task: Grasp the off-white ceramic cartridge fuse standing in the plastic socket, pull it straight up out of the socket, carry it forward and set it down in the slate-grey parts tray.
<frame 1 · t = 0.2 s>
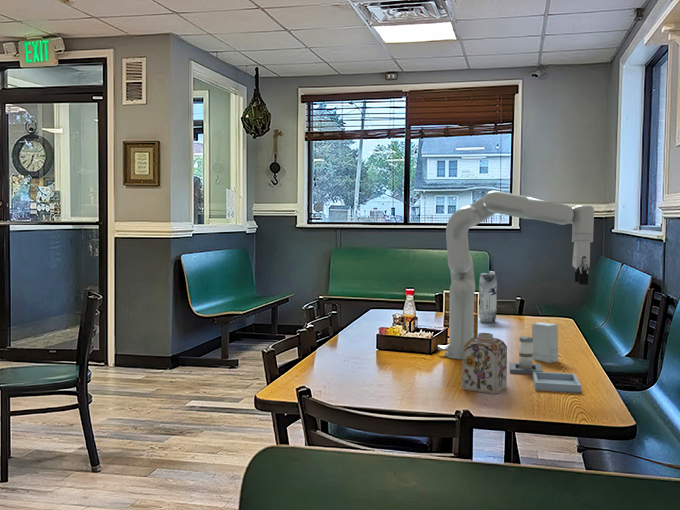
hand: (581, 283, 252), 31 cm above the table, tool pointing down, fingers open, 9 cm apart
decorative jar: (484, 389, 216), on the table
juice carton: (487, 321, 355), on the table
fuse: (525, 370, 239), point 1 cm above the table, touching socket
tray: (555, 385, 220), on the table
socket: (525, 372, 239), on the table
skincare box: (544, 361, 257), on the table
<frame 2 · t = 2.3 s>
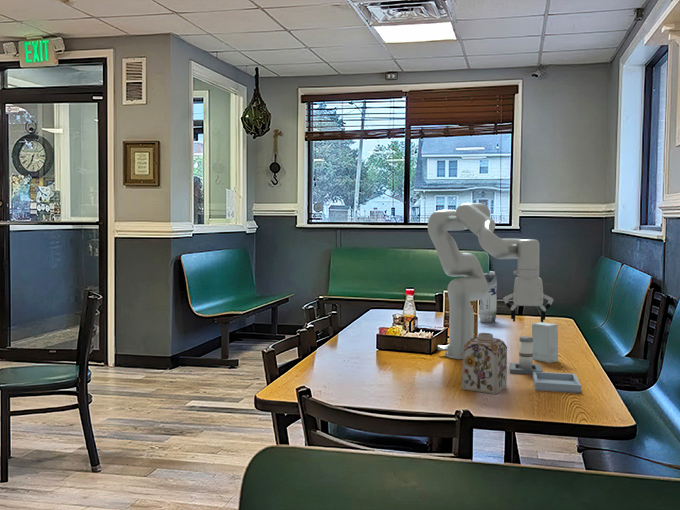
hand: (527, 321, 237), 18 cm above the table, tool pointing down, fingers open, 9 cm apart
nothing on the table moved.
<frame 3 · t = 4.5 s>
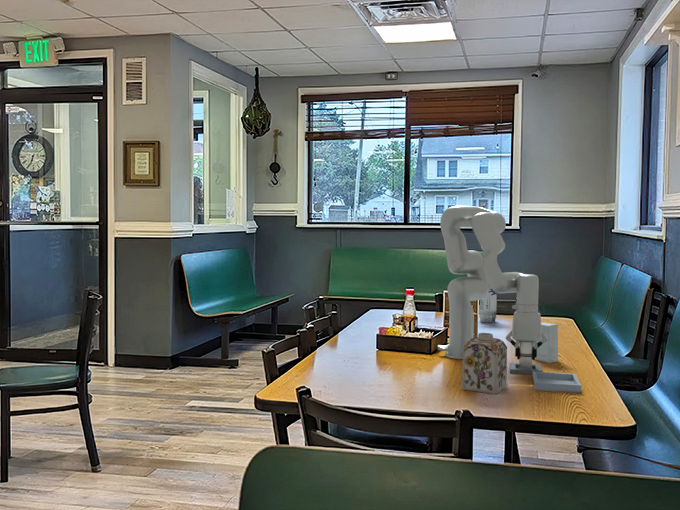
hand: (525, 358, 239), 5 cm above the table, tool pointing down, fingers closed on fuse, 4 cm apart
fuse: (525, 370, 239), point 1 cm above the table, touching gripper, socket
everything else where it was.
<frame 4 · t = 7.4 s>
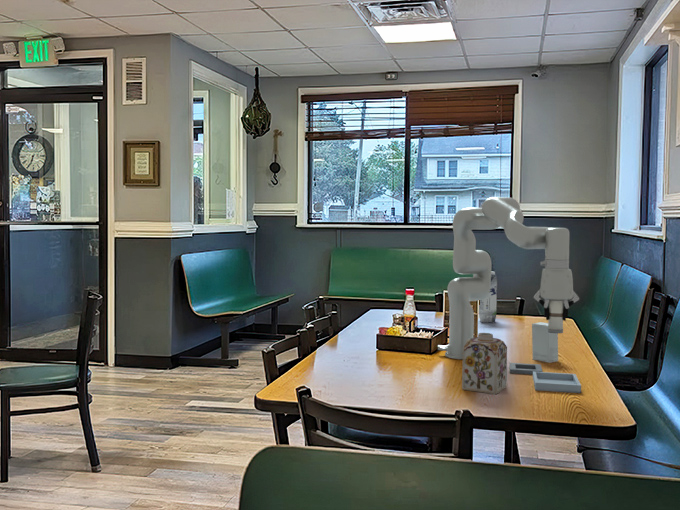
hand: (555, 319, 220), 22 cm above the table, tool pointing down, fingers closed on fuse, 4 cm apart
fuse: (555, 332, 220), point 18 cm above the table, touching gripper
everything else where it was.
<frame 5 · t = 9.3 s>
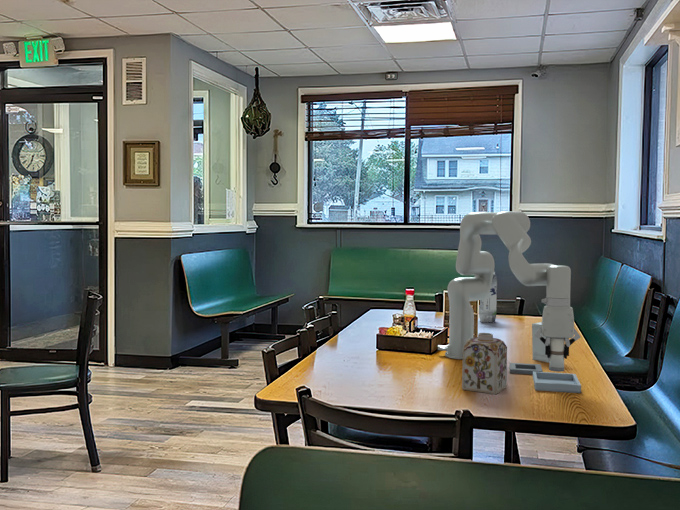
hand: (556, 357, 220), 10 cm above the table, tool pointing down, fingers closed on fuse, 4 cm apart
fuse: (556, 369, 220), point 5 cm above the table, touching gripper
everything else where it was.
when the fingers open (6 cm above the table, at t = 10.7 s): fuse stays where it is, resting on tray.
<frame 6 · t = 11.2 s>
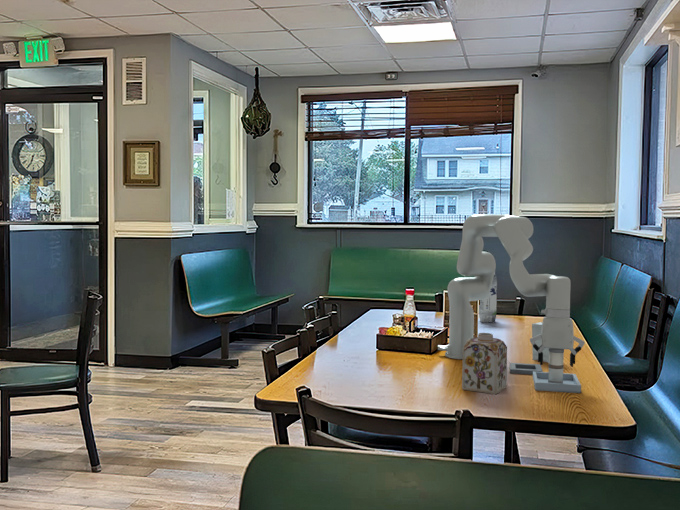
hand: (556, 365, 220), 7 cm above the table, tool pointing down, fingers open, 9 cm apart
fuse: (555, 383, 220), point 1 cm above the table, touching tray
everything else where it was.
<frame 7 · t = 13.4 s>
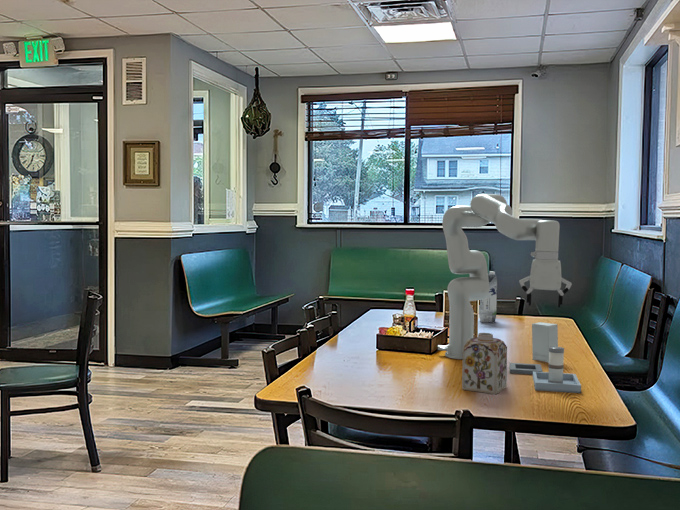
hand: (544, 305, 228), 25 cm above the table, tool pointing down, fingers open, 9 cm apart
nothing on the table moved.
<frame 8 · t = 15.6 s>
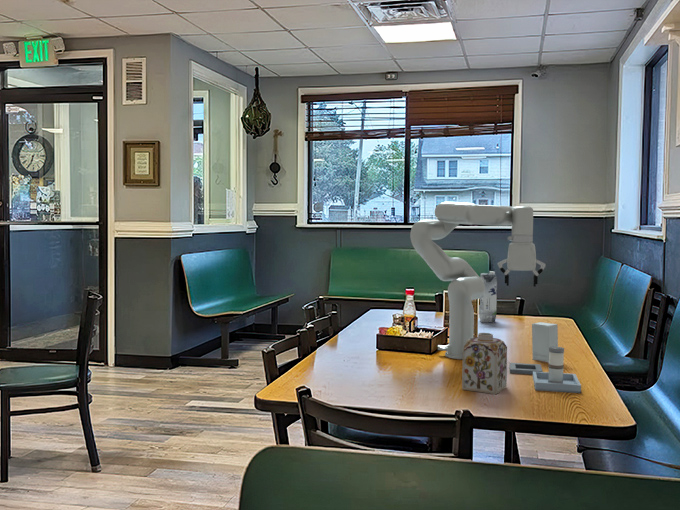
hand: (520, 285, 246), 30 cm above the table, tool pointing down, fingers open, 9 cm apart
nothing on the table moved.
at the end: fuse inside the target area on the tray (0.1 cm from its centre), point 0.6 cm above the tray's base; the gripper is holding nothing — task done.
